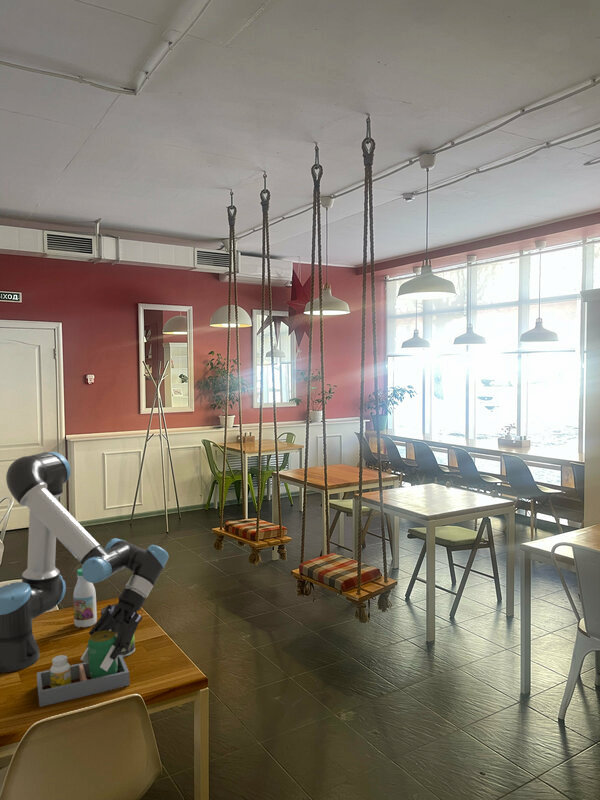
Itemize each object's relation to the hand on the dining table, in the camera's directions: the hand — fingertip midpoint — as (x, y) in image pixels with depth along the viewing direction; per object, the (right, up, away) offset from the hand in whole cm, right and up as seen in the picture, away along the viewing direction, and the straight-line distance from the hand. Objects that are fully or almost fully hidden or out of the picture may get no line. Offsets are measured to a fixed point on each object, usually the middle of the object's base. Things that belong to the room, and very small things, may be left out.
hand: (93, 665), depth 177 cm
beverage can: (+2, -5, +3) cm, 6 cm away
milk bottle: (-18, -5, +45) cm, 49 cm away
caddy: (-3, -6, +1) cm, 7 cm away
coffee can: (+1, -5, +22) cm, 23 cm away
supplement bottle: (-8, -7, -2) cm, 11 cm away
